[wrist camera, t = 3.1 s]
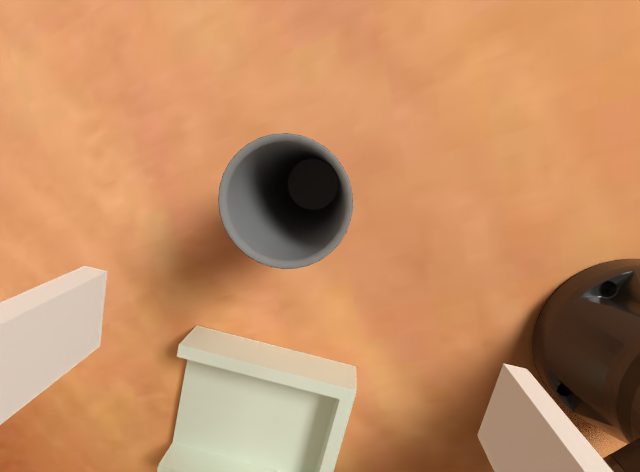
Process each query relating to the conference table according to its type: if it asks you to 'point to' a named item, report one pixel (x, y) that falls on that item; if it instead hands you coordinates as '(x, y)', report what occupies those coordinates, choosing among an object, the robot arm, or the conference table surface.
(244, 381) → the open sided tray
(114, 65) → the conference table surface
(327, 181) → the cup
